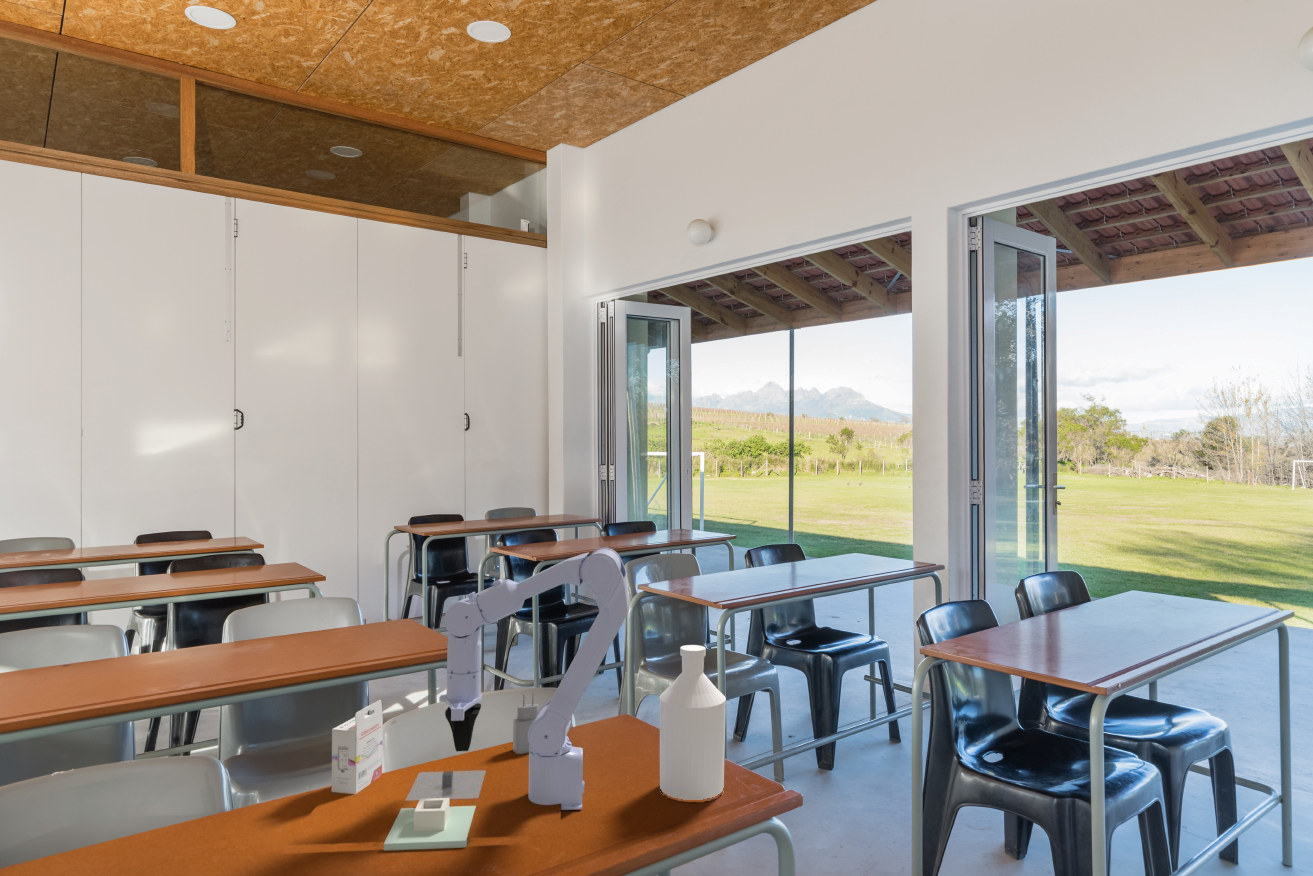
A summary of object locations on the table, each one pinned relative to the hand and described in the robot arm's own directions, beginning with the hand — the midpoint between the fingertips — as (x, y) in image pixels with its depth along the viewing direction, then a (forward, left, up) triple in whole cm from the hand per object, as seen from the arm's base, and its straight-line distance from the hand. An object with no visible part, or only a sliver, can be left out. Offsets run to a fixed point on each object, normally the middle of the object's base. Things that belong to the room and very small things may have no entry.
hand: (462, 749), depth 134 cm
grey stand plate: (+3, -4, -8) cm, 10 cm away
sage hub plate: (+3, +11, -8) cm, 14 cm away
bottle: (-40, -1, -9) cm, 41 cm away
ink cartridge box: (+19, -6, -9) cm, 22 cm away
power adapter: (-10, -20, -9) cm, 24 cm away
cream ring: (+3, +11, -7) cm, 14 cm away
